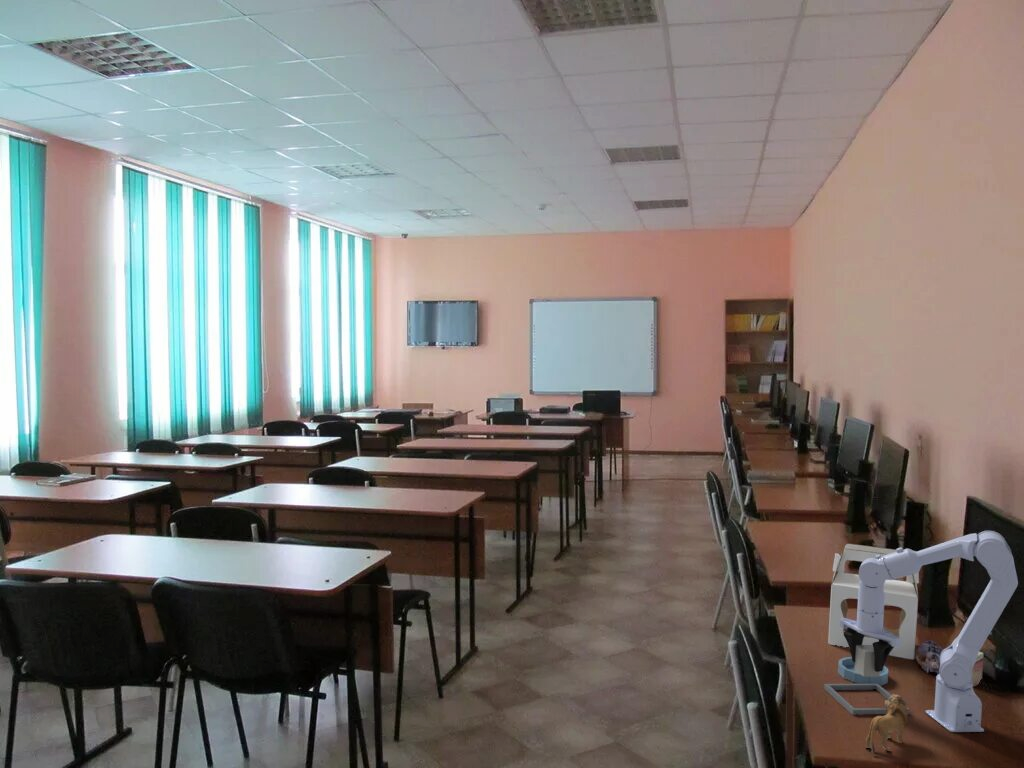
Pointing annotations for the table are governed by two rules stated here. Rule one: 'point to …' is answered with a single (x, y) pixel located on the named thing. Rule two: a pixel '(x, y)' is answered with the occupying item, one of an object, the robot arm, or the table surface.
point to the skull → (929, 656)
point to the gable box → (895, 595)
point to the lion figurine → (889, 722)
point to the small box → (977, 669)
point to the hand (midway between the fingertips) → (867, 666)
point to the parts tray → (832, 687)
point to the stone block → (865, 660)
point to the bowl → (848, 671)
